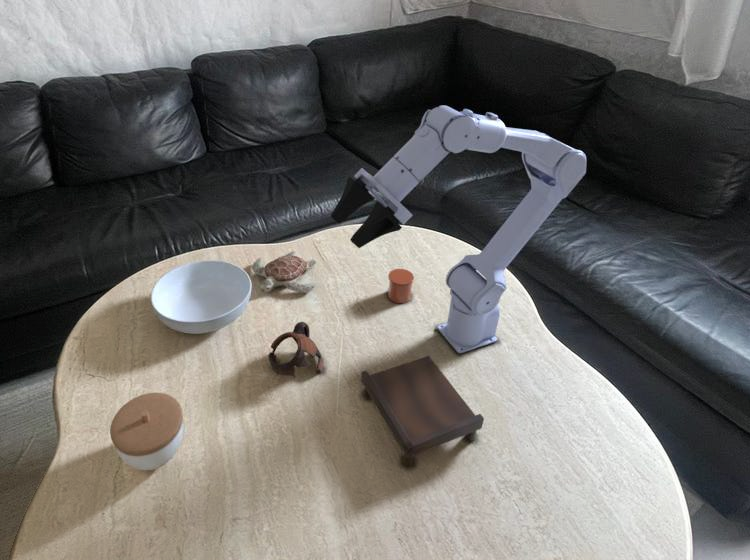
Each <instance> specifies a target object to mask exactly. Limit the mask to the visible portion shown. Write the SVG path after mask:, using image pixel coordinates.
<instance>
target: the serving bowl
mask: <svg viewBox="0 0 750 560" xmlns="http://www.w3.org/2000/svg"><path fill="white" fill-rule="evenodd" d="M252 288H253V287H252V280H251V277H250V275H249V274H248V273H247V271H246V270H244V268H242V267H240V266H238V265H236V264H235V263H232V262H229V261H224V260H218V259H205V260H196V261H192V262H188V263H184V264H181V265H179V266H176V267H174V268H173V269H171V270H169V271H167V272H166V273H164V274H163V275H162V276H161V277H159V279H158V280H157V281H156V283H155V284H154V286H153V288H152V289H151V293H150V303H151V307H152V308H153V311H154V313H155V315H156V316H157V317H158V319H159V320H160V321H161V322H162V323H163V324H164V325H166V326H167V327H168V328H170V329H171V330H175V331H177V332H181V333H184V334H191V335H192V334H195V335H197V334H207V333H211V332H215V331H218V330H220V329H223V328H225V327H227V326H229V325H230V324H231V323H233V322H235V321H236V320H237V319H238V318H239V317H240V316H241V315H242V314H243V312H244V311H245V310H246V309H247V306H248V304H249V301H250V299H251V294H252Z"/></svg>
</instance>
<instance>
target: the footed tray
mask: <svg viewBox="0 0 750 560" xmlns="http://www.w3.org/2000/svg"><path fill="white" fill-rule="evenodd" d="M360 382H361V385H363V388H364V389H363V397H364V398H365V399H371V401H372V402H373V404H374V406H375V408H376V409H377V411H378V412H379V415H380V417H381V418H382V419H383V421H384V423H385V424H386V426H387V428H388V430H389V432H390V433H391V435H392V436H393V438H394V439H395V442H396V443H397V445H398V446H399V448H400V450H401V451H402V453H403V458H402V464H403V465H404V467H411V466H412V465H413V457H415V456H416V455H418V454H421V453H425V452H427V451H428V450H430V449H434V448H436V447H439V446H442V445H444V444H446V443H448V442H451V441H454V440H456V439H459V438H461V437H463V436H465V438H466V440H467V441H469V442H473V441H475V440H476V435H477V431H479V430H481V429H483V424H484V420H485V418H484V416H483V415H482V413H478V414H475V413H474V411H473V410H472V409H471V408H470V406H469V405H468V404H467V402H466V401H465V400H464V399H463V397H462V396H461V394H459V392H458V391H457V389H455V387H454V386H453V384H452V383H451V382H450V381H449V379H448V377H446V375H445V374H444V373H443V371H442V370H441V369H440V368H439V366H438V365H437V364H436V363H435V362H434V360H433V359H432V357H430V355H426V356H423V357H420V358H419V357H418V358H417V359H416V358H415V359H413V360H411V361H407V362H404V363H402V364H401V363H400V364H398V365H395V366H392V367H388V368H386V369H383V370H380V371H377V372H373V373H369V372H368V370H363V371H361V378H360Z"/></svg>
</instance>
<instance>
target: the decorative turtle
mask: <svg viewBox="0 0 750 560" xmlns="http://www.w3.org/2000/svg"><path fill="white" fill-rule="evenodd" d="M263 260H264V259H263V257H259V258H257V259H256V260H255V261H254V262H253V264H252V267H251V270H252V271H253V272H254V273H255V274H256V275H258V276H260V277H265V278H266V279H264V280H263V281H262V282H261V283H260V289H261V290H260V291H261V293H269V292H271V291H273V290H274V289H275V287H281V286H285V287H286V288H287V289H288V290H290V291H292V292H297V293H303V294H304V293H305V294H307V293H310V292H312V291H314V290H315V289H317V287H318V286H319V285H320V284H319V282H318V281H311V282H305V283H303V282H299V281H298V280H299V279H300V277H301V276H302V275H303V273H304V271H306V270H312V269H314V268H315V267H316V266H317V263H318V262H317V260H316V259H309V260H307V261H305V260H304V259H303V258H301V257H299V256H298V252H297V251H291V252H289V253H287V254H285V255H282V256H278V257H277V258H275V259H274V260H272V261H269V262H268V263H267V264H265V266H263Z"/></svg>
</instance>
